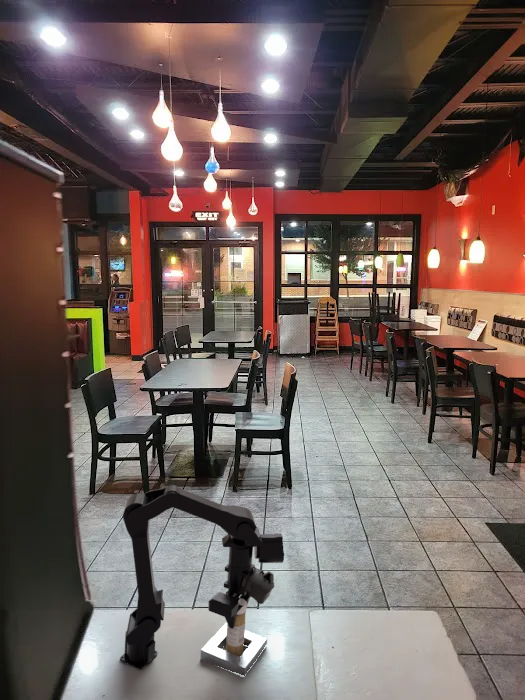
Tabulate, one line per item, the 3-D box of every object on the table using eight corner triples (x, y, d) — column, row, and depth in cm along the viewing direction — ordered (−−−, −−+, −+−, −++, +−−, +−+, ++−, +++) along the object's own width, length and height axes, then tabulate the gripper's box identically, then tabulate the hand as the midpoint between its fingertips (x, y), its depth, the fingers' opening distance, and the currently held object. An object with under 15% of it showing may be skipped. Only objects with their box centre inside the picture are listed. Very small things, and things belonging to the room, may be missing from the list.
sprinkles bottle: (236, 644, 125) (239, 594, 124) (247, 655, 121) (250, 603, 120) (221, 651, 122) (224, 600, 121) (232, 662, 118) (235, 609, 117)
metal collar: (200, 659, 119) (201, 649, 119) (225, 631, 130) (225, 622, 129) (244, 678, 114) (244, 668, 113) (266, 647, 124) (267, 638, 124)
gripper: (252, 590, 108) (247, 657, 109) (285, 555, 125) (281, 613, 126) (208, 575, 113) (205, 640, 114) (246, 543, 129) (243, 599, 131)
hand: (236, 622), depth 121 cm, fingers closed on sprinkles bottle, 4 cm apart
